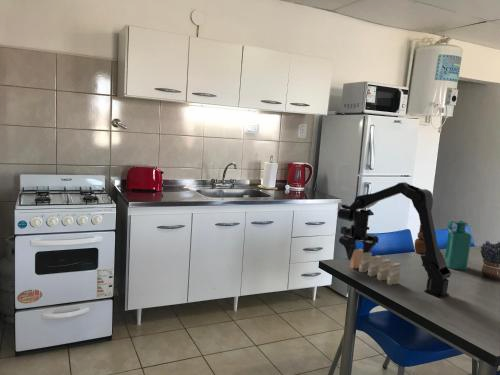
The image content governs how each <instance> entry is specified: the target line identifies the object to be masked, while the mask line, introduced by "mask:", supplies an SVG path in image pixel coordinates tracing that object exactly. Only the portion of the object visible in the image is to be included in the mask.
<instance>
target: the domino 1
mask: <svg viewBox="0 0 500 375" xmlns="http://www.w3.org/2000/svg"><path fill="white" fill-rule="evenodd" d="M361 253H363V249H362V248H358V249H357V248H356V249H354V251H353V254H352V257H351V260H350V266H349V268H350V269H354V268H355V269H359V265H360V256H361Z"/></svg>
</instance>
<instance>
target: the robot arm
mask: <svg viewBox="0 0 500 375" xmlns="http://www.w3.org/2000/svg"><path fill="white" fill-rule="evenodd" d="M400 194H402V195H403V196H405V197H406V198H408V199H409V200H411V202H412V206H413V208H414V209H415V211H416V212H417V214H418V218H419V223H420V224H421V229H422V234H423V240H424V245H425V254H421V255H420V258H421V262H422V263H421V264H422V265H421V266H422V267H423V268H424V270H425V271H426V274H427V282H426V289H424V290H423V291H424V292H425V293H428V294H429V295H432V296H435V297H437V298H444V297H447V296H450V293H448V287H449V278H450V277H451V276H452V272H451V270H450V268H449V267H447V266H446V262H445V256H444V254H443V253H442V251H440V248H439V246H438V240H437V235H436V234H437V233H436V230H435V224H434V220H433V214H432V209H433V202H434V200H433V197H434V196H433V193H432V192H431V191H430V190H429V189H425V188H423V189H422V188H419V187H417V186H414V185H411V184H409V183H407V182H405V181H403V182H398V183H396V184H394V185H390V186H389V187H386V188H384V189H381V190H378V191H375V192H373V193H366V194H361V195H357V196H355V198H354V201H353V202H352V203H351V205H348V204H341V206H340V208H339V210H338V212H337V217H338V219H340V220H341V221H348V222H350V223H351V222H353V224H351V225H350V227H347V226H341V227H340V234H341V235H343V236H341V235H340V237H339V238H338V243H339V244H341V245H342V246H343V247H344V249H345V253H346V256H347V257H346V258H347V260H349V261H351V257H352V254H353V251H354V250H355V248H356V243H359V242H362V245H363V249H362V250H363V253H367V252H370V253H371V251H372V249H373V248H374V247H375V246H376V244H378V243H379V237H378V235H374V234H372V233H367V232H368V231H369V230H370V226H369V225H368V224H369V218H370V216H374V215H375V214H374V212H373V211H372V209H371V207H373V206H374V205H376V204H377V203H378V202H380V201H383V200H386V199H389V198H392V197H394V196H397V195H400ZM369 208H370V209H369ZM366 209H367V210H366ZM420 224H419V225H420Z"/></svg>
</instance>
